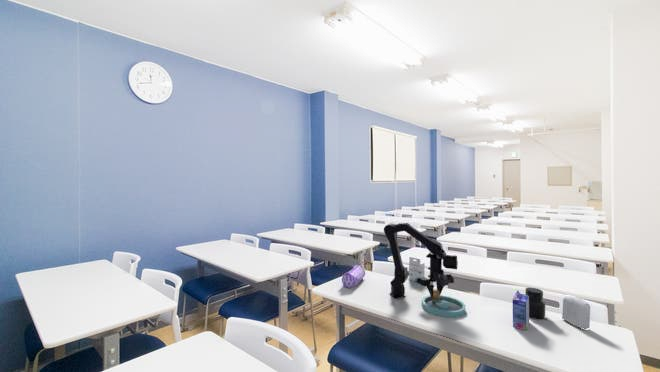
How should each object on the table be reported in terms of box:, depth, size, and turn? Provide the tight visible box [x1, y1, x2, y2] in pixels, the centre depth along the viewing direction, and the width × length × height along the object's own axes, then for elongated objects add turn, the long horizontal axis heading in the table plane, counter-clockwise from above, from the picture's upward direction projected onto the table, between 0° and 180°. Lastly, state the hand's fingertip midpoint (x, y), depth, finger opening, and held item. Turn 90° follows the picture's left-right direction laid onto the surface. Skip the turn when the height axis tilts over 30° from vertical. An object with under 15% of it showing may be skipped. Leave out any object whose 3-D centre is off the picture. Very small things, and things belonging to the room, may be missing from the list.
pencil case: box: [341, 263, 366, 289], centre depth 183 cm, size 22×9×10 cm, turn 158°
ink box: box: [408, 256, 425, 283], centre depth 187 cm, size 8×5×15 cm, turn 39°
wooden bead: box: [431, 288, 441, 301], centre depth 154 cm, size 4×4×4 cm
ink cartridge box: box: [512, 289, 530, 331], centre depth 132 cm, size 10×6×14 cm, turn 141°
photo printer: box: [561, 294, 591, 330], centre depth 132 cm, size 10×4×12 cm, turn 11°
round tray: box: [421, 294, 466, 318], centre depth 148 cm, size 20×20×2 cm
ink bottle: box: [524, 287, 546, 320], centre depth 141 cm, size 10×9×12 cm
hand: (435, 296), depth 154 cm, fingers closed on wooden bead, 4 cm apart
